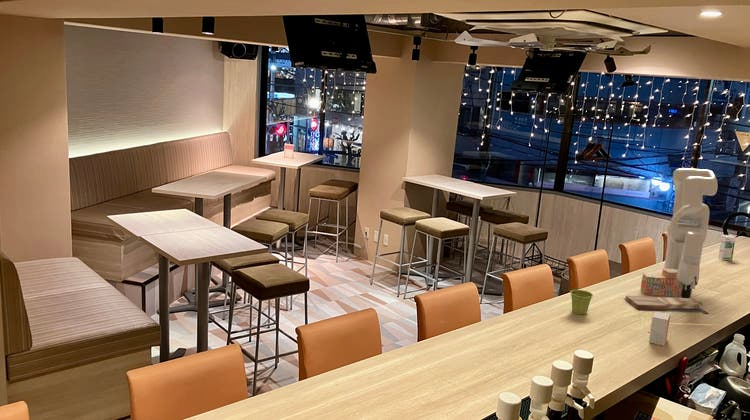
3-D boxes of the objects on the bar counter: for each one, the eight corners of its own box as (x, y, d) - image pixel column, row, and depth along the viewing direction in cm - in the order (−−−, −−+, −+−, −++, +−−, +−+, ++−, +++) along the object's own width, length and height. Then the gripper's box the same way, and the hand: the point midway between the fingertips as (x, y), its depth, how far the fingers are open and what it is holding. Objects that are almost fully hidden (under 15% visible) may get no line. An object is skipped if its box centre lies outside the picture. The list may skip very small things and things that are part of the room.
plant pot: (594, 312, 256) (596, 293, 255) (585, 318, 249) (587, 298, 248) (574, 306, 262) (576, 288, 261) (564, 312, 256) (566, 292, 254)
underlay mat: (623, 299, 275) (623, 298, 275) (688, 301, 276) (688, 300, 276) (638, 311, 260) (639, 310, 260) (708, 313, 261) (708, 312, 260)
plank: (665, 308, 263) (665, 304, 263) (655, 301, 272) (655, 297, 272) (700, 308, 264) (701, 304, 263) (689, 301, 273) (690, 297, 272)
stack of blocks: (644, 295, 283) (647, 270, 280) (640, 291, 289) (643, 267, 287) (691, 298, 281) (694, 273, 279) (685, 294, 287) (689, 269, 285)
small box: (664, 346, 223) (668, 320, 221) (648, 342, 226) (652, 316, 224) (667, 339, 230) (670, 314, 228) (651, 336, 233) (654, 310, 231)
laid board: (625, 299, 273) (625, 295, 273) (653, 300, 274) (653, 296, 273) (637, 309, 262) (637, 304, 261) (666, 309, 262) (666, 305, 262)
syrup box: (721, 260, 354) (725, 236, 351) (717, 257, 360) (721, 234, 357) (732, 260, 353) (736, 237, 351) (728, 258, 359) (731, 235, 356)
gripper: (674, 253, 271) (668, 291, 275) (691, 263, 257) (685, 303, 261) (690, 254, 271) (684, 292, 275) (708, 264, 257) (702, 304, 261)
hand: (685, 297), depth 268 cm, fingers closed
